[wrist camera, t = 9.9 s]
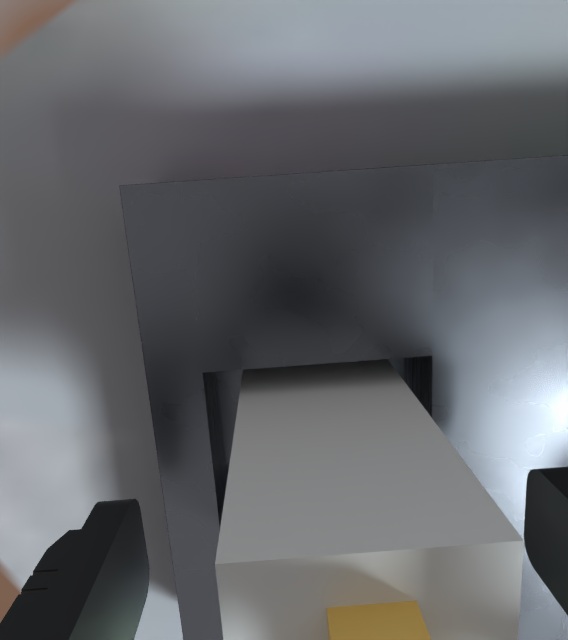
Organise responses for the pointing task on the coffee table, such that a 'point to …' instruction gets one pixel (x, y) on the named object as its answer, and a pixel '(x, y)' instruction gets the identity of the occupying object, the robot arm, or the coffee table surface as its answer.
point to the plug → (357, 517)
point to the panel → (355, 325)
